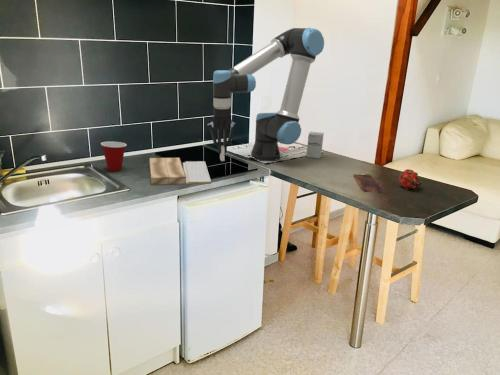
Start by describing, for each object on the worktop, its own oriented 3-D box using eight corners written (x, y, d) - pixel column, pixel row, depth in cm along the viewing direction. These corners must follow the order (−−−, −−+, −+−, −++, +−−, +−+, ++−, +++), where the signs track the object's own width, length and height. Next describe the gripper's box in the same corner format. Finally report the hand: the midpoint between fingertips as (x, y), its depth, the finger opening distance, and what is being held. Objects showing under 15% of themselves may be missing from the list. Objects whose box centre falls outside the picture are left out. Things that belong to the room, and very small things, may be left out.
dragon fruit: (404, 186, 192) (412, 199, 181) (391, 175, 190) (398, 187, 179) (418, 173, 189) (427, 185, 178) (405, 161, 186) (413, 173, 176)
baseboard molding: (181, 185, 176) (211, 185, 178) (181, 178, 175) (211, 178, 177) (179, 164, 204) (204, 164, 207) (179, 158, 203) (205, 158, 206)
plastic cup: (131, 170, 189) (130, 144, 185) (108, 174, 183) (106, 147, 179) (122, 164, 197) (120, 139, 193) (98, 168, 191) (96, 141, 187)
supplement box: (305, 157, 226) (308, 133, 222) (307, 154, 233) (310, 131, 229) (319, 158, 225) (322, 135, 220) (321, 155, 231) (323, 132, 227)
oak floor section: (179, 163, 203) (179, 157, 202) (186, 183, 176) (186, 176, 175) (149, 164, 200) (149, 158, 199) (151, 184, 172) (151, 177, 171)
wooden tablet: (351, 171, 201) (373, 170, 200) (351, 176, 201) (372, 175, 201) (362, 190, 176) (387, 189, 175) (362, 195, 176) (387, 194, 176)
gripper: (235, 105, 189) (234, 157, 197) (205, 106, 186) (206, 158, 194) (238, 108, 182) (238, 161, 190) (208, 109, 179) (209, 163, 187)
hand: (222, 160), depth 192 cm, fingers closed
